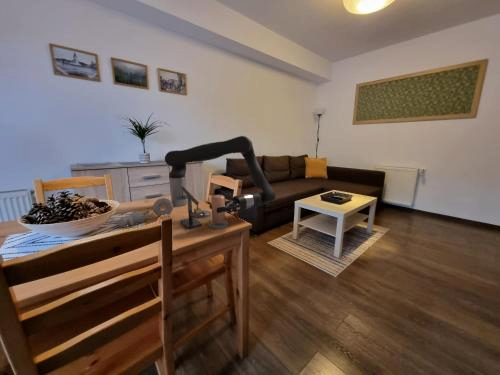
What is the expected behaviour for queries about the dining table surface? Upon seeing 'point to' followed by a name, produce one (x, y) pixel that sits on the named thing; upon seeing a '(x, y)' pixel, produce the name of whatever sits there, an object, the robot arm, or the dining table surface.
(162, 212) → the donut
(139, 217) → the bunny figurine
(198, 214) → the balance
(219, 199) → the tan round cylinder
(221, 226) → the dish low side
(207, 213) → the dish high side
